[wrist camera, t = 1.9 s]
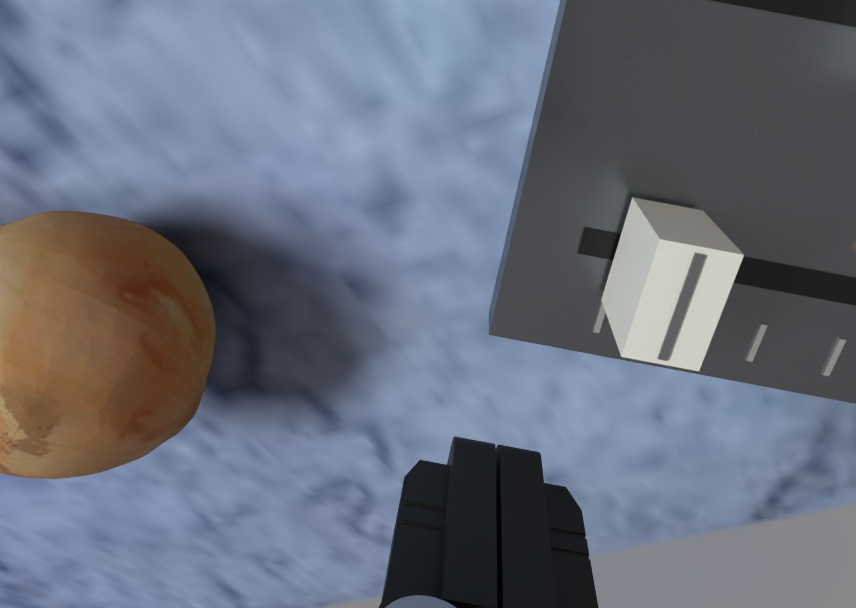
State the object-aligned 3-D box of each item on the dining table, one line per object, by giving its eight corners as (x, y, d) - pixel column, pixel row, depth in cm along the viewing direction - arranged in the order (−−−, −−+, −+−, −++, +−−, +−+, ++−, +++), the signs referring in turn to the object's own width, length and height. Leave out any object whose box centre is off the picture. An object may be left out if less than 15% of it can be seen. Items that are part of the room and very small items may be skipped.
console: (606, -200, 22) (617, -218, 20) (1241, -83, 22) (1315, -90, 20) (489, 313, 29) (488, 335, 27) (959, 401, 29) (991, 430, 27)
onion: (78, 129, 28) (-124, 201, 19) (292, 272, 29) (204, 401, 20) (-6, 306, 31) (-209, 438, 22) (188, 423, 33) (74, 589, 24)
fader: (632, 197, 24) (660, 240, 20) (702, 210, 24) (745, 256, 20) (601, 299, 26) (621, 358, 22) (667, 312, 26) (699, 372, 22)
